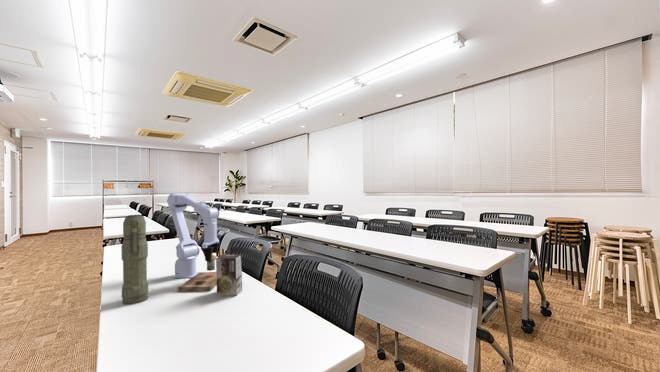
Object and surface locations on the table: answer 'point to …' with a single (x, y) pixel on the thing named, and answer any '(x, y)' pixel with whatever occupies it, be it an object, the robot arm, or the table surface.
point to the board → (200, 282)
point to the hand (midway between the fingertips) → (210, 259)
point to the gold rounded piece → (211, 262)
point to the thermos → (134, 260)
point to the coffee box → (229, 274)
